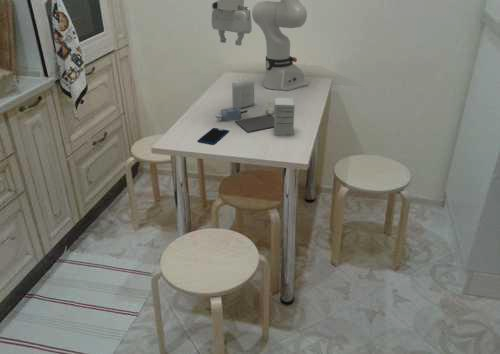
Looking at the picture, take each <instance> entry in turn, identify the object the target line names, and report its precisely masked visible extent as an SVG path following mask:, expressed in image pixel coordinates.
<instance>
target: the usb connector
mask: <svg viewBox="0 0 500 354" xmlns="http://www.w3.org/2000/svg"><path fill="white" fill-rule="evenodd" d="M241 109H242V108H238V107H234V108H233V107H229V108H224V109H221V110H220V114H215V118H216V120H219V119H220V121H221V122H225V123H227V122H231V121H237V120H241V116H242V114H246V113H248V110H241Z"/></svg>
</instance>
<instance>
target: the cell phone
mask: <svg viewBox="0 0 500 354" xmlns="http://www.w3.org/2000/svg"><path fill="white" fill-rule="evenodd" d="M229 133H230V130H229V129H224V128H217V127H213V128H211V129H209V130H208V131H207V132H206V133H205V134H204V135H202V136H201V137H200V138H199V139H197V143H199V144H200V143H201V144H204V145H205V144H206V145H209V146H210V145H211V146H214V145H216V144H217V143H218V142H219V141H221V140H222V139H223V138H224V137H225V136H226V135H227V134H229Z"/></svg>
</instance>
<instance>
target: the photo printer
mask: <svg viewBox="0 0 500 354" xmlns="http://www.w3.org/2000/svg"><path fill="white" fill-rule="evenodd" d="M231 89H232V90H231V91H232V94H231V96H232V97H231V99H232V108H234V107H238V108H240V109H243V108H247V107H251V106H254V105H255V80H254V78H253V79H252V78H250V77H249V78H248V77H243V78H240V79H237V80H235V81H233V83H232V87H231Z"/></svg>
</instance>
